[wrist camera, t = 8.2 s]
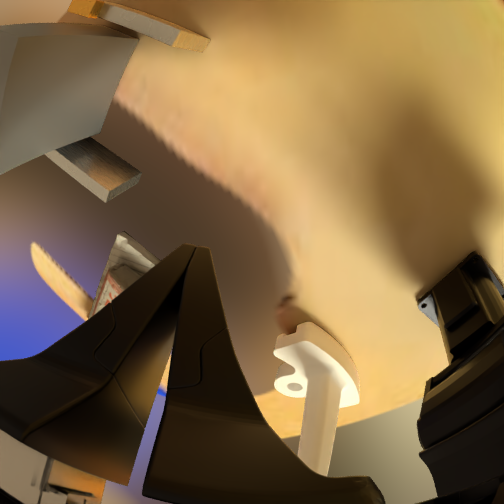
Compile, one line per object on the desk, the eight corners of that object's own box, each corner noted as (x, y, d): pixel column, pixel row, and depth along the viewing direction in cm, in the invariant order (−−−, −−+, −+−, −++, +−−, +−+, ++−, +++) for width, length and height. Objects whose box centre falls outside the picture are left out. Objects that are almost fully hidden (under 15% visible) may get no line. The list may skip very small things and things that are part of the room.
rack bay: (211, 38, 14) (135, 16, 8) (137, 182, 21) (65, 230, 15) (109, 0, 13) (28, -10, 7) (60, 127, 20) (-11, 155, 13)
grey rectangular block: (139, 39, 15) (18, 37, 7) (99, 133, 19) (-5, 177, 11) (100, 24, 14) (-11, 25, 6) (67, 111, 19) (-31, 146, 11)
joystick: (369, 383, 27) (348, 569, 10) (307, 398, 30) (268, 561, 14) (320, 316, 23) (265, 574, 7) (250, 341, 27) (171, 543, 11)
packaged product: (133, 390, 32) (71, 341, 30) (150, 363, 36) (91, 317, 34) (191, 333, 22) (91, 254, 20) (213, 294, 26) (125, 226, 24)
